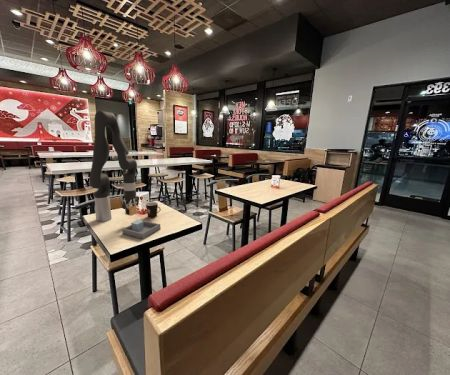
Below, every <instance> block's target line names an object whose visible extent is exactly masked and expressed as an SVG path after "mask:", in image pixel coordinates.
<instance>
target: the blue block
mask: <svg viewBox="0 0 450 375" xmlns="http://www.w3.org/2000/svg"><path fill="white" fill-rule="evenodd" d="M143 221H144V220H143ZM143 221H141V220H139V219H138V220H135V221H133V222H131V223H130V225H132V230H133V231H137V232H138V231H140V230H142V229H144V225H143Z"/></svg>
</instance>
